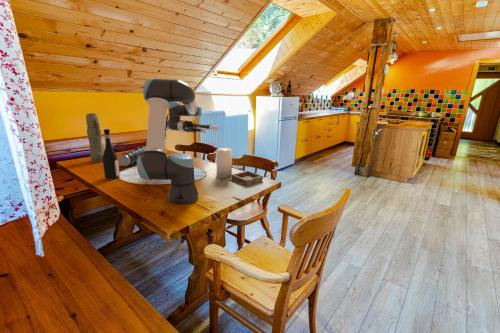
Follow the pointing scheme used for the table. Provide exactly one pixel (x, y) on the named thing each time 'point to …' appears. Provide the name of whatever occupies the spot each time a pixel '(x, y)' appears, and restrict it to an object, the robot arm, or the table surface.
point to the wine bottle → (110, 159)
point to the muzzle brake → (131, 156)
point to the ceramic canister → (224, 162)
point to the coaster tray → (247, 178)
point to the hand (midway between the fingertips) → (211, 129)
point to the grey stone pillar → (94, 138)
